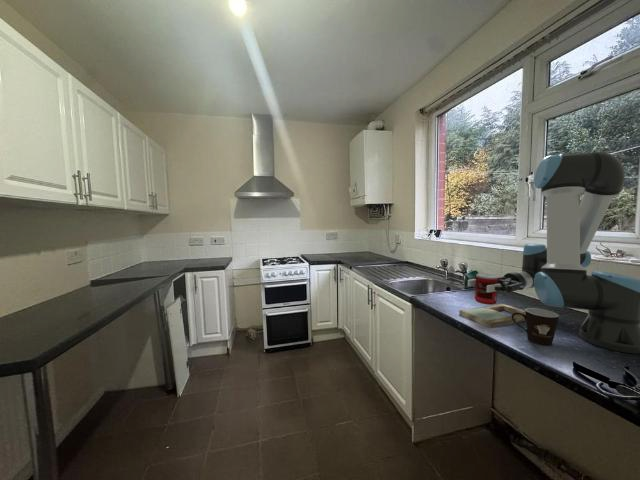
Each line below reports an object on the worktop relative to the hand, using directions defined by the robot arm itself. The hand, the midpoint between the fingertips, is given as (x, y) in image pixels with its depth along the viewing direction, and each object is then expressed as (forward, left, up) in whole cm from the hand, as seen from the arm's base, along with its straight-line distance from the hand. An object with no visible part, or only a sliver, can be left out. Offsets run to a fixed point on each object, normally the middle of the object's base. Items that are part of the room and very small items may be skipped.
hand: (477, 286), depth 106 cm
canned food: (0, -5, -7) cm, 9 cm away
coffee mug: (-19, -3, -14) cm, 24 cm away
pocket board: (0, -11, -14) cm, 18 cm away
